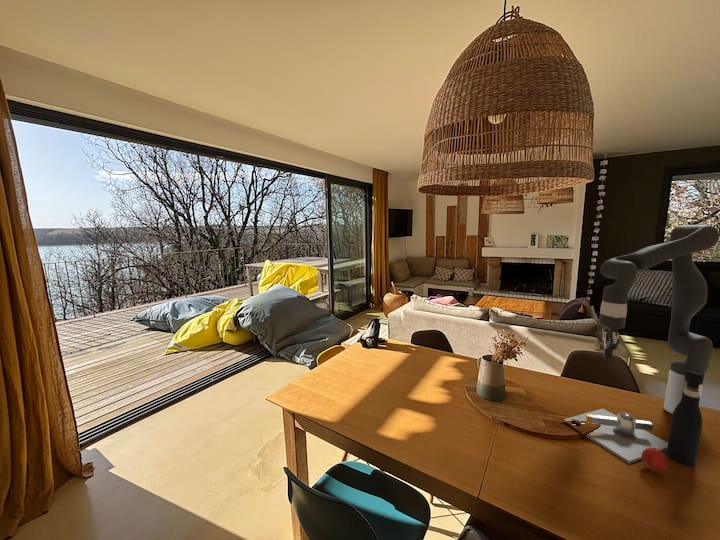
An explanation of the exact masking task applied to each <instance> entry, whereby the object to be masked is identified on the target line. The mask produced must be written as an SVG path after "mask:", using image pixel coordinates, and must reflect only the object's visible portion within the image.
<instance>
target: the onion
mask: <svg viewBox="0 0 720 540" xmlns="http://www.w3.org/2000/svg"><path fill="white" fill-rule="evenodd" d="M641 456H642V459H641V460H642V462H643V463H644V465H645V466H646V467H647V468H648V469H649V470H650V471H652V472H664V471H665V470H666V469H668V467H669V463H668V457H666V455H665V454H664V453H663V451H662V452H661V451H660V450H659V449H658V448H657V447H654V448H647V449H645V450H644V451H643V452H642V455H641Z"/></svg>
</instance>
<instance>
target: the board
mask: <svg viewBox="0 0 720 540" xmlns="http://www.w3.org/2000/svg"><path fill="white" fill-rule="evenodd" d="M586 414H588V415H590V414H592V415H600V416H608V417H617V414H614V413H613V412H611V411H608V410H606V409H605V408H599V409H597V410H592V411H588V412H585V413H581V414H578V415H574V416H570V417H567V418H563V420H565V421H571V420H572V419H575V420H579V421H586ZM563 420H562V421H563ZM581 424H585V423H581ZM572 425H576V424H572ZM585 437H586V438H588V439H589V440H591V441H593V442H594V443H595V444H597V445H599V446H600V447H602V448H603V449H604V450H606V451H608V452H609V453H611V454H612V455H614V456H616V457H617V458H619V459H621V460H622V461H623V462H625V463H626V464H629V465H631V464H633V463H636V462H638V461H641V460H642V456H641V455H642V452H643V451H644V450H645V449H647V448H654V447H657V448H658V449H659V450H660V451H661V452H662V453H663V452H665V451H667V448H668V441H665V440H663V439H662V438H660V437H658V436H656V435H654V434H653V433H650V432H648V430H641V429H635V433H634V437H632V438H629V437H625V436H622V435H620V434H619V433H617V432H616V426H609V425H601V426H600V427H599V428H598V429H596V430H594V431H593V432H591V433H589V434H587V436H585Z"/></svg>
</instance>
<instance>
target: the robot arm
mask: <svg viewBox="0 0 720 540" xmlns="http://www.w3.org/2000/svg"><path fill="white" fill-rule="evenodd" d="M719 239H720V233H719V230H718V229H717V228H716V227H715V226H713V225H707V224H682V225H677V226H675V227H674V228H673V229H672V230H671V233H670V236H669V241H667V242H663V243H658V244H654V245H649V246H646V247H644V248H641V249H639V250H637V251H634V252H632V253H630V254H625V255H620V256H615V257H612V258H609V259H607V260H605V261H604V262H603V263H602V264H601V266H600V267H599V268H600V269H599V270H600V271H599V272H600V274H601V275H602V276H603V277H605V278H608V279H613V280H615V282H614V284H610V285H606V286H604V287H603V291H602V292H603V293H602V301H601V303H600V310H599V311H600V312H599V319H598V324H599V326H600V325H601V326H602V327H604V328H602V329H601V338H602V344H603V348H604V349H603V357H604V358H605V359H609V360H610V359H613V353H614V351H616V349H617V348H618V346H619V344H620V343H621V342H620V341H621V340H620V339H618V338H619V335H620V332H619V331H618V330H622V329H624V328H625V327H626V321H627V320H626V319H627V314H628V313H627V312H628V297H629V292H630V290H631V289H632V286H633V285H634V282H635V280H636V278H637V275H638V272H641V271H644V270H648V269H650V268H653V267H655V266H658V265H659V264H662V263H664V262H667V261H670V260H671V263H672V264H671V265H672V266H671V267H672V269H671V270H672V283H671V315H670V323H669V329H668V336H667V344H668V345H667V346H668V347H669V349H670V350H671V351H673V352H675V353H677V354H680V355H682V356H685V357H686V359H685V361H684V360H683V361H681V360H675V361H672V362H671V363H670V364H669V365H670V366H669V372H668V379H667V385H666V391H665V397H664V398H665V399H664V404H663V409H664V410H665V411H666V412H668V413H669V414H671V415H673V412H674V410H675V408H676V406H677V405H678V404H679V403H680V401H681V399H682V393H683V392H684V389H685V387H687V386H686V385H687V381H685V380H684V379H685V373H686V370H687V369H692V370H697V371H700V372H702V373H704V375H705V374H706V372H707V370H708V369H709V367H710V366H709V365H710V362H711V358H712V354H713V350H714V348H713V347H714V346H713V342H712V340H711V339H710V338H708V337H707V336H704V335H700V334H697V333H694V332H691V331H690V325H691V320H692V318H693V317H694V316H695V315H697V313H698V312H700V311H701V310H702V309H703V307H705V305H706V304H707V302H708V292H709V291H708V289H709V287H708V283H707V281H706V279H705V277H704V276H703V274H702V273H701V271H700V270H699V269H698V267H697V266H696V265H695V262H694V260H693V253H698V252H703V251H707V250H710V249H711V248H713V247H714V246H716V244H718V242H719ZM703 384H704V383H703ZM703 384H702V385H699V393H700V394H699V397H700V398H701V396H702V390H703ZM700 401H701V400H700ZM700 401H699V404H700V403H701V402H700Z"/></svg>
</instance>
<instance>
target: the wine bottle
mask: <svg viewBox="0 0 720 540" xmlns="http://www.w3.org/2000/svg"><path fill="white" fill-rule="evenodd" d="M704 378H705V374H704V373H702V372H700V371H697V370H692V369H687V370H686V373H685V379H684V380H685V381H687V385H686V386H687V387H685V389H684V392H683V393H682V399H681V401H680V403H679V404H678V405H677V406H676V408H675V410H674V412H673V414H672V416H671V423H670V430H669V436H668V441H667V442H668V448H667V450H666V456H667V458H669V460H671V461H673V462H675V463H677V464H679V465H681V466H684V467H689V468H691V467H692V468H693V467H695V466H696V462H697V456H698V452H699V444H700V439H701V434H702V427H703V416H702V412H701V408H700V403H699V401H701V397H699V394H700V393H699V385H702V384H704Z"/></svg>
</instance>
